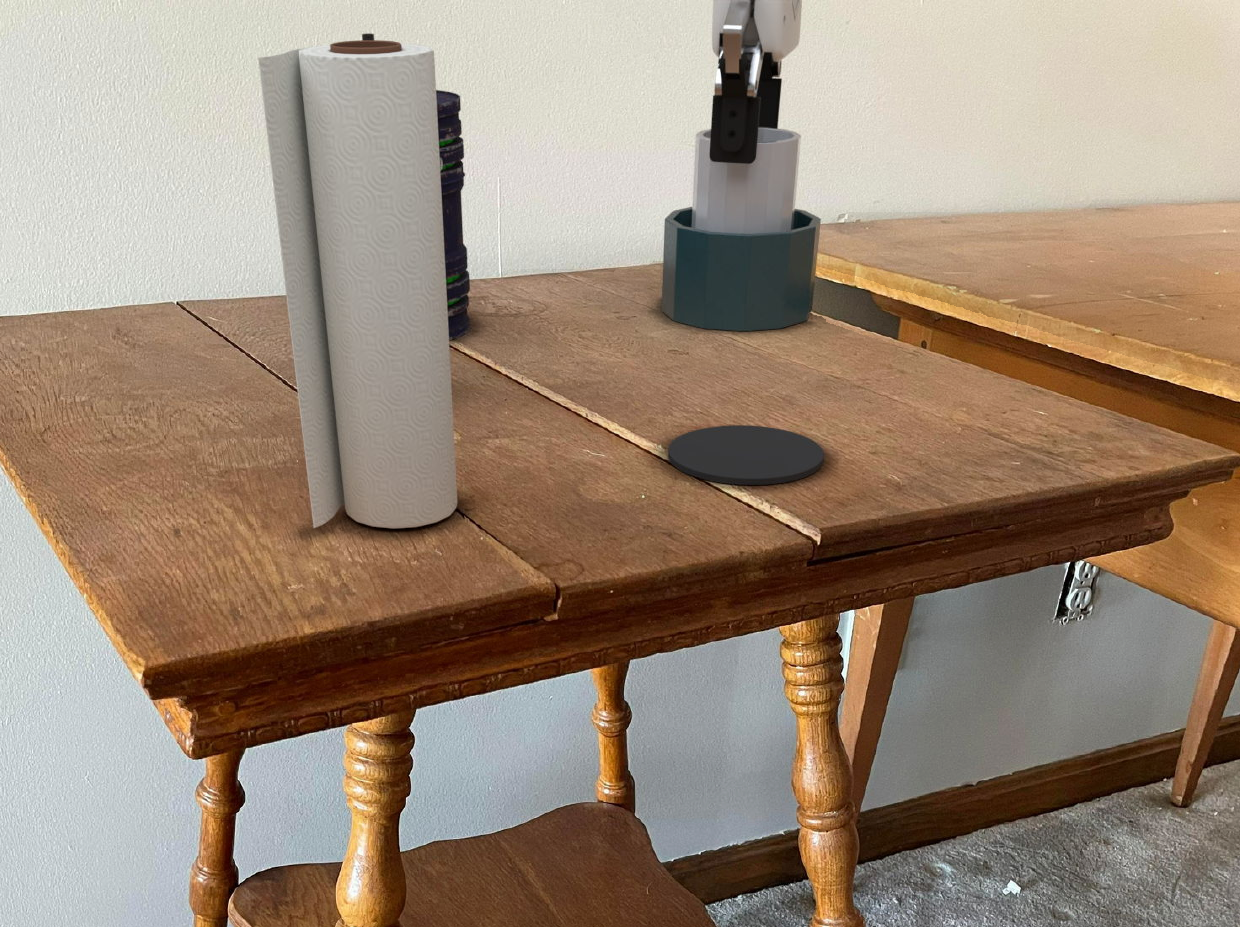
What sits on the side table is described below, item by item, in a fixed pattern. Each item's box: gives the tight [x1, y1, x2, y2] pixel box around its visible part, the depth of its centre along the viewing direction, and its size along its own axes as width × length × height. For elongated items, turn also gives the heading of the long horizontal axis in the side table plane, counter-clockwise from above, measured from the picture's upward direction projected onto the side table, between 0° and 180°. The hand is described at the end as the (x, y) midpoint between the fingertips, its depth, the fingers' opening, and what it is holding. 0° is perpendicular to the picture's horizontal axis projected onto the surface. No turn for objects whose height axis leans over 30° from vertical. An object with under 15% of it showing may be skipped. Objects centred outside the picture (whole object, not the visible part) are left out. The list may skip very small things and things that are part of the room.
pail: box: [661, 206, 822, 332], centre depth 104 cm, size 11×11×6 cm
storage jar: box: [436, 89, 471, 341], centre depth 98 cm, size 10×10×15 cm
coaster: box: [667, 424, 825, 486], centre depth 80 cm, size 9×9×1 cm
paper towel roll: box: [257, 39, 458, 529], centre depth 68 cm, size 7×6×21 cm
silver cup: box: [691, 127, 802, 234], centre depth 103 cm, size 7×7×12 cm
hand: (744, 150), depth 100 cm, fingers open, 9 cm apart
